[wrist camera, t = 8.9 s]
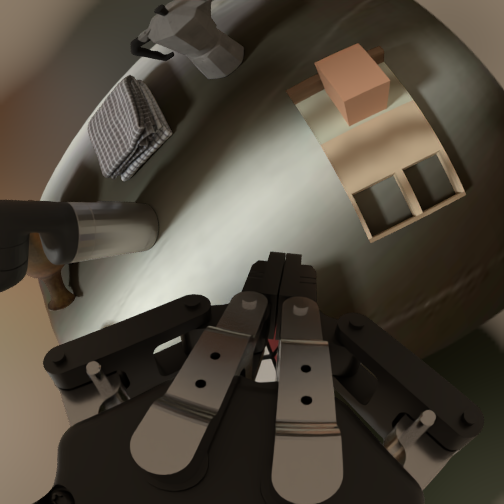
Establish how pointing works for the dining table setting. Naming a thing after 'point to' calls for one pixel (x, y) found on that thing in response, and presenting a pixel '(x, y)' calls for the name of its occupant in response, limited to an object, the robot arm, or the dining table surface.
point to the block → (354, 83)
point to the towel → (127, 129)
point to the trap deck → (375, 142)
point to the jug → (47, 274)
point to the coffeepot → (191, 38)
